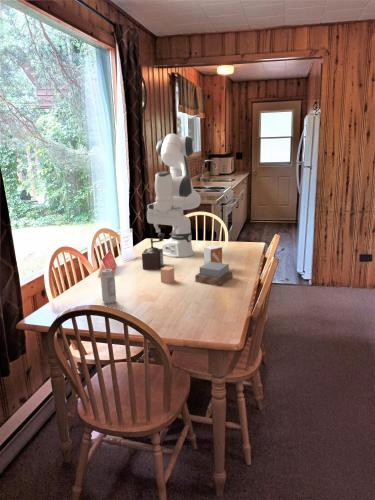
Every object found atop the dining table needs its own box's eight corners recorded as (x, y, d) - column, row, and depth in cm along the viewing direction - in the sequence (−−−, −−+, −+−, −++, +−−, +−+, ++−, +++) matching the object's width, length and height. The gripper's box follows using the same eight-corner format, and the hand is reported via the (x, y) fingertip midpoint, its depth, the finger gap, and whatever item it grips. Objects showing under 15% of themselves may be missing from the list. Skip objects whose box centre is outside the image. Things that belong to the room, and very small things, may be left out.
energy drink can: (110, 298, 187) (107, 267, 183) (119, 301, 183) (116, 269, 179) (100, 302, 182) (97, 270, 178) (108, 305, 178) (106, 273, 174)
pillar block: (161, 282, 206) (160, 268, 205) (166, 279, 210) (166, 266, 209) (169, 283, 204) (168, 270, 202) (174, 280, 208) (174, 267, 206)
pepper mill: (161, 269, 226) (160, 238, 221) (142, 269, 227) (140, 238, 222) (166, 261, 241) (165, 232, 236) (148, 261, 242) (146, 231, 237)
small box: (210, 272, 219) (210, 249, 215) (203, 269, 224) (203, 247, 220) (222, 269, 223) (222, 247, 219) (215, 267, 228) (215, 244, 224)
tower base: (195, 282, 206) (195, 275, 205) (208, 274, 217) (208, 267, 216) (220, 287, 199) (220, 279, 197) (232, 278, 210) (232, 271, 209)
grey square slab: (199, 274, 205) (199, 267, 204) (209, 268, 214) (209, 261, 213) (219, 278, 200) (219, 270, 199) (228, 271, 209) (228, 264, 208)
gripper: (186, 205, 194) (187, 233, 198) (151, 203, 205) (153, 230, 208) (179, 207, 189) (180, 236, 193) (144, 205, 199) (145, 232, 203)
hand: (166, 233), depth 200 cm, fingers open, 8 cm apart
